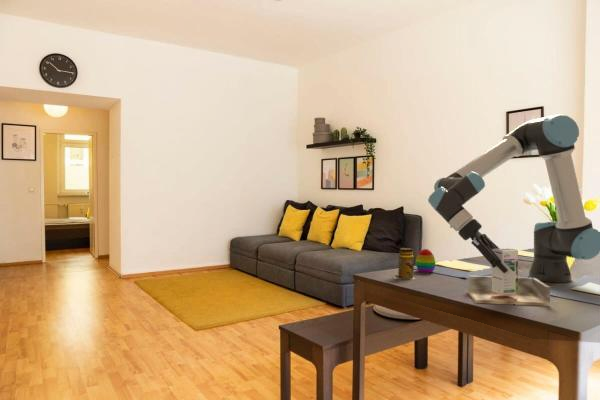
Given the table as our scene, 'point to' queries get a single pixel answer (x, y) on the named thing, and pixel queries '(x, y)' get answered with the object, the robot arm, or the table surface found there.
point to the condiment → (405, 264)
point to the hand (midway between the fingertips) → (516, 277)
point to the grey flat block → (528, 294)
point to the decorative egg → (425, 261)
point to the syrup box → (498, 279)
